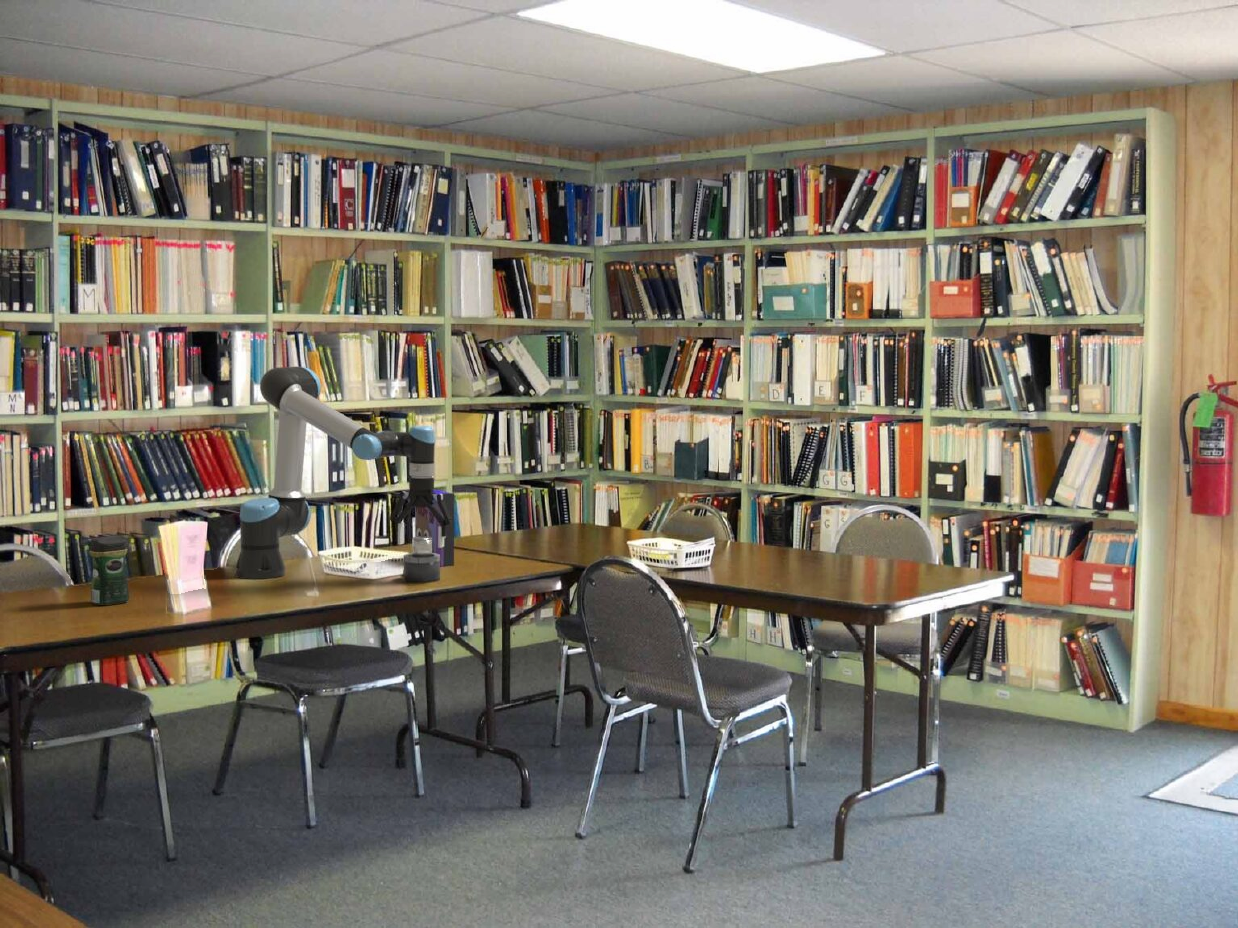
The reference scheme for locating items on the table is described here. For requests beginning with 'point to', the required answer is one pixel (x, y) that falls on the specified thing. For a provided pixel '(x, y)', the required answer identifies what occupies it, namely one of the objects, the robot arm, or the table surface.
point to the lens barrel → (422, 568)
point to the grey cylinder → (422, 547)
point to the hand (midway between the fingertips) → (420, 545)
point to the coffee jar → (109, 570)
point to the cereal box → (429, 528)
